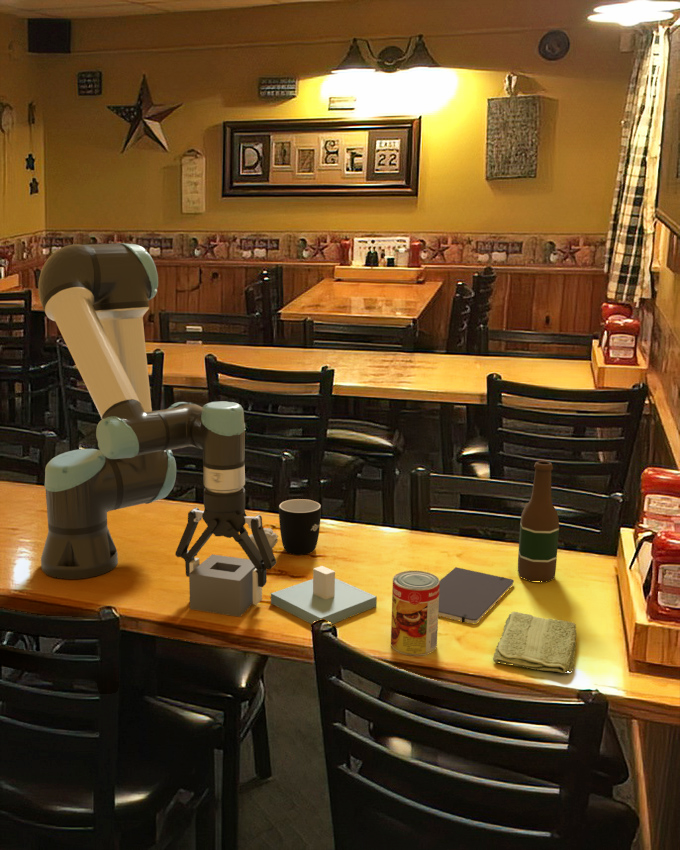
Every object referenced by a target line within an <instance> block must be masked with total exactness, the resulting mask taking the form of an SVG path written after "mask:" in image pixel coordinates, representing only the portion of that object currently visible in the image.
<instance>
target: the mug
mask: <svg viewBox="0 0 680 850" xmlns="http://www.w3.org/2000/svg"><path fill="white" fill-rule="evenodd" d="M321 506H322V505H321V504H320V503H319V502H317V501H316V500H315V501H314V500H311V499H307V498H306V499H303V498H302V499H301V498H300V499H299V498H297V499H288V500H285V501H282V502H281V503H280V504H279V505H278V520H279V521H278V522H279V531H280V536H281V537H280V538H281V539H280V540H281V543H282V547H283V549H284V551H285V552H286V553H287V554H289V555H293V556H306V555H311V554H312V553H313V552H314V551H315V550H316V548H317V544H318V542H319V541H318V540H319V536H320V534H319V533H320V529H321V513H322V507H321Z"/></svg>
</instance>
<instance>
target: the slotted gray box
mask: <svg viewBox="0 0 680 850" xmlns="http://www.w3.org/2000/svg"><path fill="white" fill-rule="evenodd" d="M199 564H200V565H199V566H198V567H197V568H195V569H194V570H193V571H192V572H191V573H189V577H188V579H189V581H188V583H189V584H188V585H189V588H188V589H189V610H195V611H199V612H200V611H201V612H206V613H207V612H208V613H214V614H220V615H227V616H231V617H232V616H233V617H239V618H240V617H242V615H244V613H246V611H248V609H249V608H250V607H251V606H252V605H254V604H253V571H254V570H255V569H256V568H255V566H254V565H253V563H252V562H251V560H250V559H249V558H241V557H234V556H227V555H219V554H214V553H213V554H211V555H209V557H207V558H206V559H205V560H203V561H202V562H201V563H199Z"/></svg>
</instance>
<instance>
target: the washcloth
mask: <svg viewBox="0 0 680 850" xmlns="http://www.w3.org/2000/svg"><path fill="white" fill-rule="evenodd" d="M501 634H502V635H501V638H500V640H499V642H498V643H497V645H496V647H495V651H494V653H493V657H492V659H493V662H494V663H498V662H500V663H506V664H513V665H518V666H517V667H521V666H524V667H523V668H525V667H527V668H526V669H528V668H531V669H532V670H536V669H537V671H546V672H547V671H548V672H549V671H550V672H558V673H562V674H566V673H565V672H567V671H569V672H571V671H573V670H574V667H575V664H574V663H575V652H576V645H577V644H576V638H577V625H576V622H572V621H568V620H562V619H559V620H558V619H553V618H543V617H539V616H533V615H532V614H530V613H529V614H528V613H523V612H518V611H512V612H511V613H509V614H508V617H507V618H506V620H505V624H504V627H503V632H502V633H501ZM573 662H574V663H573ZM531 669H530V670H531ZM572 669H573V670H572Z"/></svg>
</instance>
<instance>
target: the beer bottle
mask: <svg viewBox="0 0 680 850" xmlns="http://www.w3.org/2000/svg"><path fill="white" fill-rule="evenodd" d="M553 467H554V466H553V464H552V462H549V461H546V460H538V461H536V462H535V463H534V465H533V468H534V476H533V477H534V478H533V485H532V492H531V495H530V499H529V501H528V502H527V503H526V505H525V506H524V507H523V510H522V512H521V514H520V515H521V516H520V521H519V522H520V524H519V538H518V556H517V572H518V575H519V578H520V577H522V578H525V579H527V580H530V581H540V582H541V581H542V582H546V581H548V582H550V581H552V580H551V579H553V580H555V577H556V571H557V559H558V558H557V557H558V545H559V532H560V518H559V515H558V511H557V510H556V507H555V506H554V504H553V501H552V500H553V499H552V471H553V470H554V468H553ZM522 578H521V579H522ZM527 580H526V581H527ZM549 580H550V581H549ZM530 581H529V582H530ZM540 582H539V583H540ZM546 583H547V582H546Z"/></svg>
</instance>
